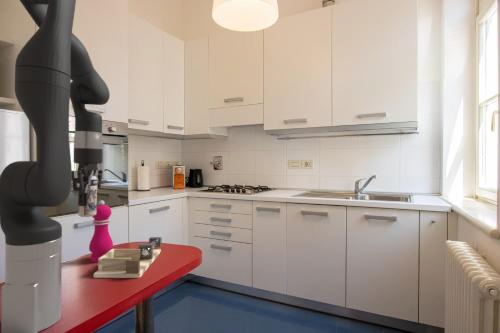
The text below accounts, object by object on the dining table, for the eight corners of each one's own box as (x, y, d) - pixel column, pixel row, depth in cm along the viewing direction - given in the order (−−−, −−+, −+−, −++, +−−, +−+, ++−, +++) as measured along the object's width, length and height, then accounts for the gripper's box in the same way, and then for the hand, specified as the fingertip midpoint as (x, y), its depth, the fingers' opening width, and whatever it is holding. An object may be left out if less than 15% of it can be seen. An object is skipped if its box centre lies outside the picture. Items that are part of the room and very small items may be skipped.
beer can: (88, 217, 82) (88, 176, 82) (74, 216, 83) (74, 175, 83) (100, 214, 87) (100, 175, 87) (86, 214, 88) (87, 175, 88)
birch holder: (140, 277, 82) (140, 257, 82) (93, 277, 81) (93, 257, 81) (160, 252, 105) (161, 236, 105) (124, 252, 104) (124, 236, 104)
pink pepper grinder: (84, 259, 95) (85, 200, 95) (106, 254, 101) (106, 198, 101) (95, 264, 91) (96, 202, 91) (117, 258, 97) (117, 200, 97)
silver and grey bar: (150, 258, 93) (150, 248, 93) (137, 258, 92) (138, 248, 92) (161, 245, 107) (161, 237, 107) (150, 245, 106) (150, 237, 106)
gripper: (89, 146, 78) (88, 208, 78) (111, 149, 92) (110, 201, 92) (60, 145, 77) (59, 208, 78) (87, 148, 92) (87, 201, 92)
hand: (87, 204), depth 85 cm, fingers closed on beer can, 4 cm apart
